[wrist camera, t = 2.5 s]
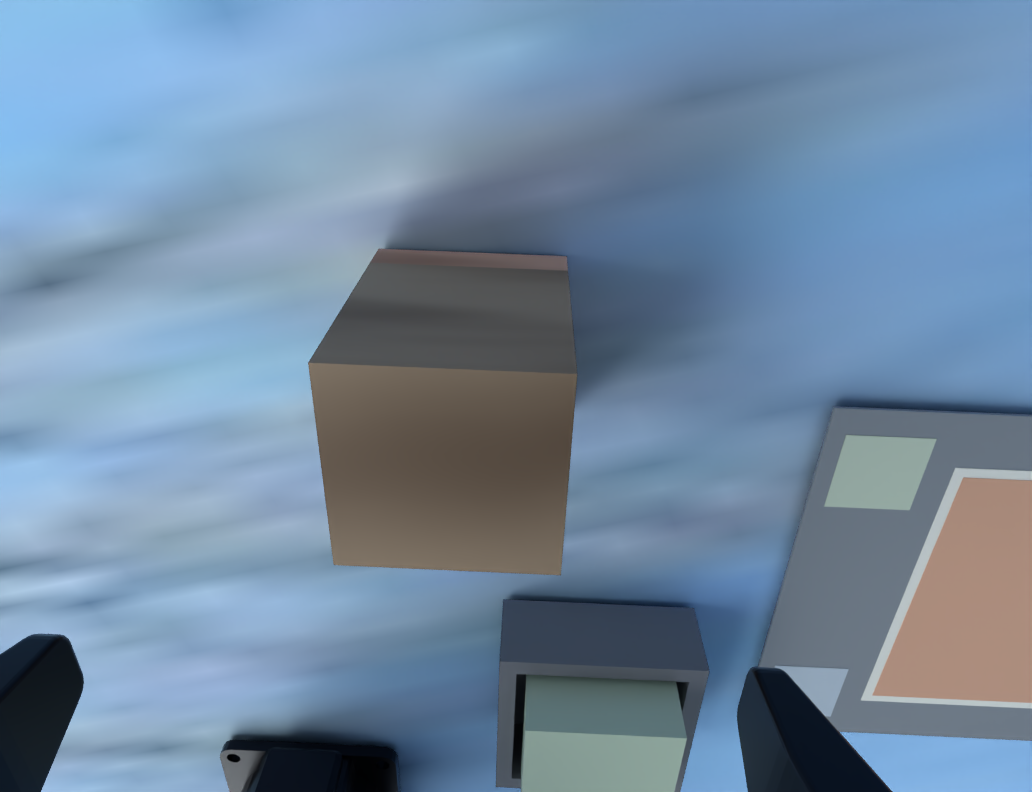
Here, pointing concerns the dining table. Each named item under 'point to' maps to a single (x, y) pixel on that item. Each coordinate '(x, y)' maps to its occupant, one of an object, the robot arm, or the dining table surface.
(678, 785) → the button housing
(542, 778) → the button
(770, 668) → the robot arm
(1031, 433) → the picture mat
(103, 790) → the dining table surface
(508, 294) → the block
